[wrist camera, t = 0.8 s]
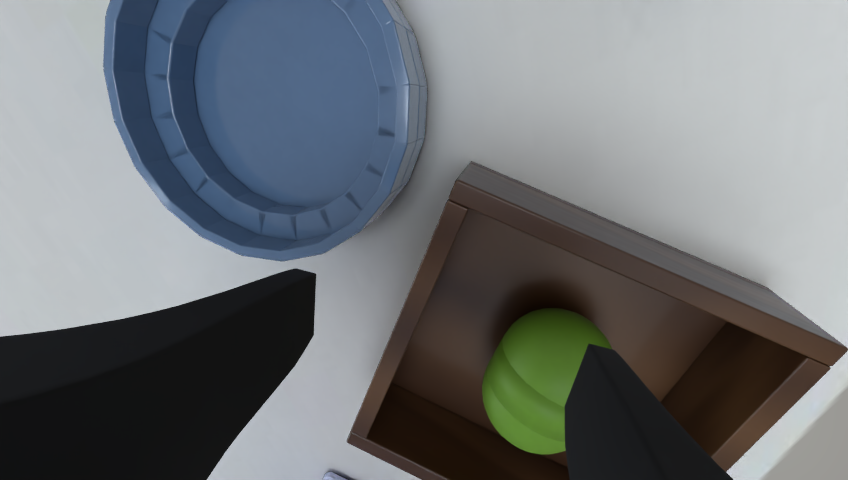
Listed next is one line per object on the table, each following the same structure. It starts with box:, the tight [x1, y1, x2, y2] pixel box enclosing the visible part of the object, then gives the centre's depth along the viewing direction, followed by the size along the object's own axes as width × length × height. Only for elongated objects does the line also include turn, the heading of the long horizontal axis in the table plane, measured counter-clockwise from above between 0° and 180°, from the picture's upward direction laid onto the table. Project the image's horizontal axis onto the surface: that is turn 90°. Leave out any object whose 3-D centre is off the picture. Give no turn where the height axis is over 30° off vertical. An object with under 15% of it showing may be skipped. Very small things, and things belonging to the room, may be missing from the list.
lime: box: [482, 308, 612, 454], centre depth 17 cm, size 6×5×5 cm
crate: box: [347, 161, 848, 480], centre depth 18 cm, size 14×14×4 cm
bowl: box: [103, 0, 427, 261], centre depth 17 cm, size 13×13×4 cm
